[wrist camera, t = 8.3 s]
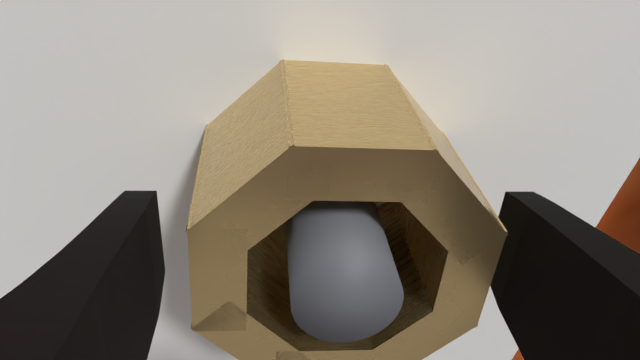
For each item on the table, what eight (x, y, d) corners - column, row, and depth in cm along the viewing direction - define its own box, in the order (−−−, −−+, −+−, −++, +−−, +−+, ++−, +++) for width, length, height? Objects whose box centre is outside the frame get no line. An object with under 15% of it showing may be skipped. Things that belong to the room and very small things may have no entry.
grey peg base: (740, -95, 12) (1075, -55, 7) (469, 369, 20) (539, 545, 15) (-26, -363, 9) (-398, -639, 4) (3, 320, 17) (-109, 526, 12)
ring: (458, 67, 12) (535, 151, 9) (414, 261, 15) (460, 380, 12) (203, 54, 11) (180, 141, 8) (209, 260, 14) (194, 387, 11)
